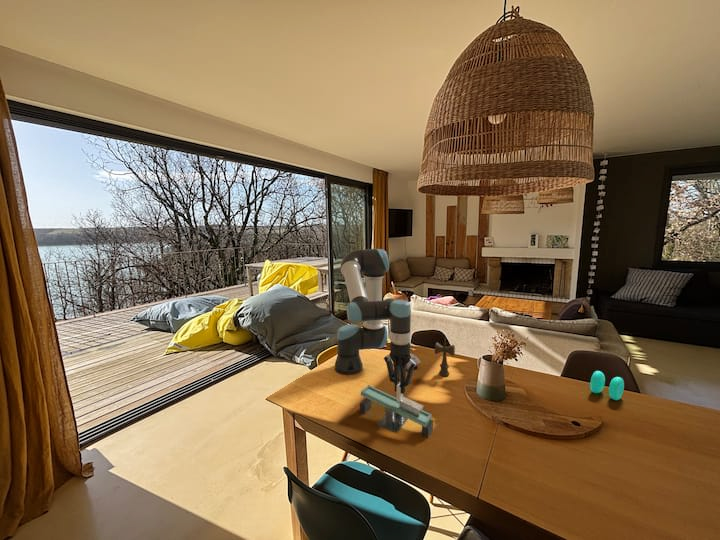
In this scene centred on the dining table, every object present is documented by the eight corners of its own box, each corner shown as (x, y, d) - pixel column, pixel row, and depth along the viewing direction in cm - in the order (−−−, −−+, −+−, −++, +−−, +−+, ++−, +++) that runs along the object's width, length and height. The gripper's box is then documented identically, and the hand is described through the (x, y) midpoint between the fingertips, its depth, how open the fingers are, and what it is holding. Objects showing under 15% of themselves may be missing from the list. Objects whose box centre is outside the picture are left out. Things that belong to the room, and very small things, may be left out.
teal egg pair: (616, 404, 127) (619, 382, 126) (588, 394, 135) (590, 373, 134) (623, 396, 133) (626, 375, 132) (596, 387, 141) (598, 367, 140)
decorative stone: (422, 368, 163) (422, 357, 162) (407, 371, 159) (407, 361, 158) (408, 358, 175) (408, 349, 174) (394, 361, 171) (394, 351, 171)
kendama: (435, 370, 160) (436, 334, 157) (454, 373, 156) (455, 336, 153) (433, 375, 155) (434, 338, 152) (453, 378, 151) (454, 340, 148)
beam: (368, 388, 128) (369, 384, 128) (431, 418, 114) (432, 414, 113) (360, 395, 123) (360, 391, 122) (425, 427, 108) (425, 423, 108)
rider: (402, 404, 118) (404, 396, 117) (422, 413, 114) (423, 405, 113) (399, 409, 115) (400, 400, 115) (418, 418, 111) (419, 410, 110)
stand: (371, 401, 132) (370, 386, 131) (436, 424, 116) (436, 407, 116) (354, 417, 122) (354, 401, 121) (424, 444, 106) (424, 426, 105)
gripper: (380, 341, 114) (380, 399, 117) (412, 348, 106) (411, 410, 110) (389, 335, 120) (389, 391, 123) (420, 341, 113) (419, 400, 116)
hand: (399, 400), depth 116 cm, fingers closed
